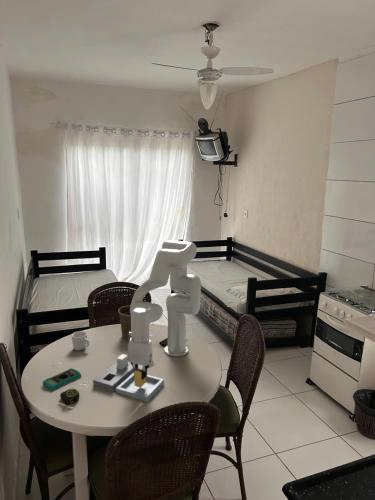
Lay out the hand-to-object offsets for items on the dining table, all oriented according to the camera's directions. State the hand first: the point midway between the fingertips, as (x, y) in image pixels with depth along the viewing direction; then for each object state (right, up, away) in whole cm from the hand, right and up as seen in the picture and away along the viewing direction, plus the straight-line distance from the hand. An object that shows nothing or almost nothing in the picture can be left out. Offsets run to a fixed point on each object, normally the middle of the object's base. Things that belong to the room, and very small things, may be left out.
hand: (140, 376), depth 158 cm
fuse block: (-12, -4, +9) cm, 15 cm away
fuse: (-10, -3, +13) cm, 17 cm away
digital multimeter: (-35, -5, +6) cm, 36 cm away
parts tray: (0, -6, +1) cm, 6 cm away
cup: (-36, +2, +36) cm, 51 cm away
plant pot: (-11, +5, +52) cm, 53 cm away
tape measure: (-28, -8, -9) cm, 30 cm away
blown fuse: (0, -3, +1) cm, 4 cm away
